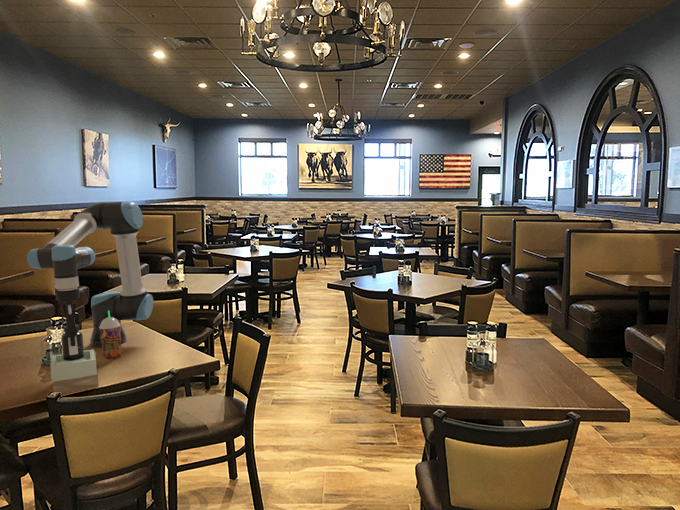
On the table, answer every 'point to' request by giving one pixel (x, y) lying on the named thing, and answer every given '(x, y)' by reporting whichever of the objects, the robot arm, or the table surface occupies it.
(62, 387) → the tower base block
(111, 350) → the smoothie
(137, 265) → the robot arm
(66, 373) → the tower top block
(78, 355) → the supplement bottle
